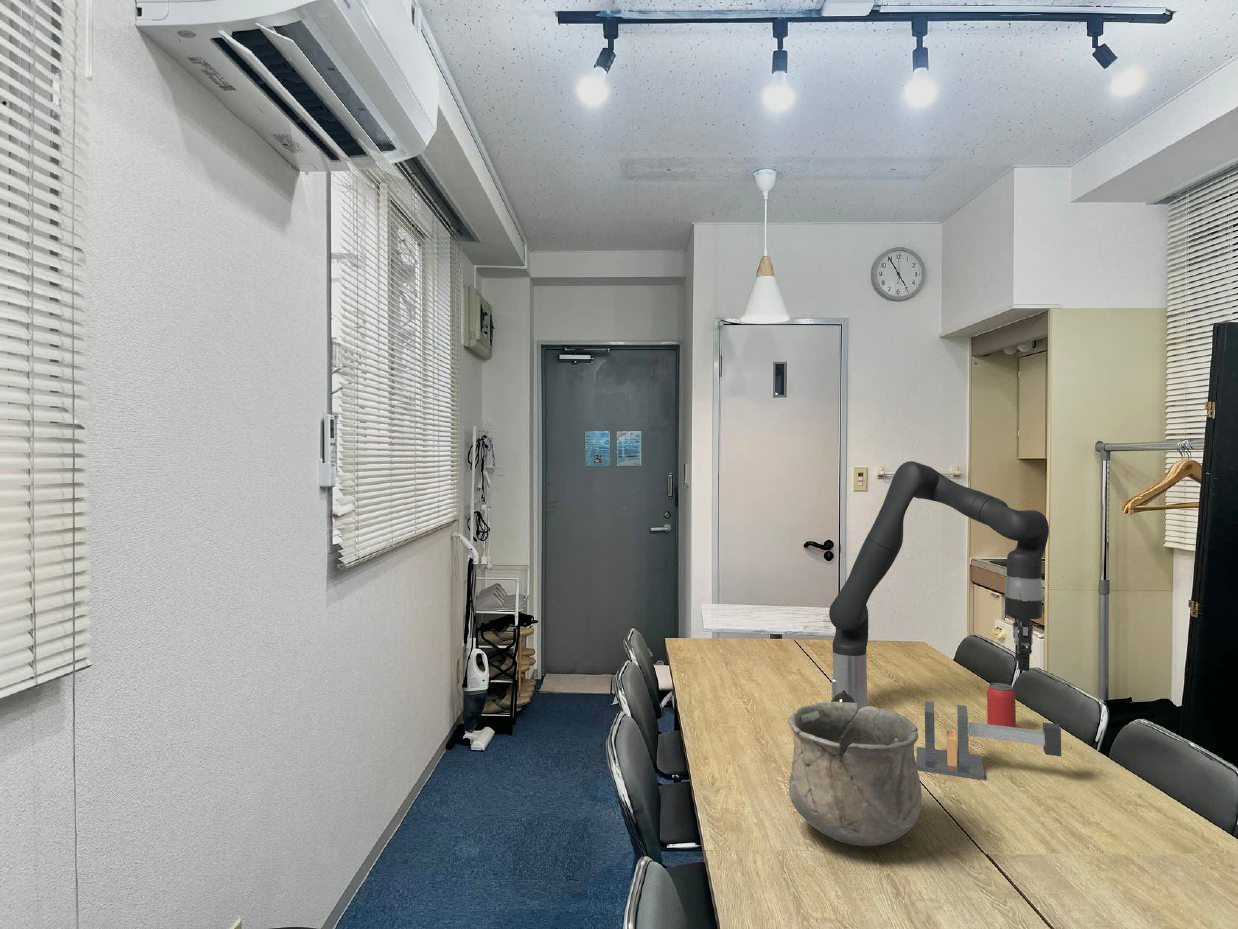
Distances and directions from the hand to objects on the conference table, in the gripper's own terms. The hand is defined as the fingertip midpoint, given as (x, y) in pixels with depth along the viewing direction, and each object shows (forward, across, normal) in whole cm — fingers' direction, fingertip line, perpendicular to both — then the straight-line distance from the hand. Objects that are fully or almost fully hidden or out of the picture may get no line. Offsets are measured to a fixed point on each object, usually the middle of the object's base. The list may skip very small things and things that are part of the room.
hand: (1022, 665), depth 162 cm
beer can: (+24, -22, -3) cm, 32 cm away
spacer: (+23, +7, -14) cm, 28 cm away
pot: (+24, +48, -31) cm, 62 cm away
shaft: (+17, +6, -2) cm, 18 cm away
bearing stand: (+24, +7, -15) cm, 29 cm away
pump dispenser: (+25, +11, -38) cm, 46 cm away
